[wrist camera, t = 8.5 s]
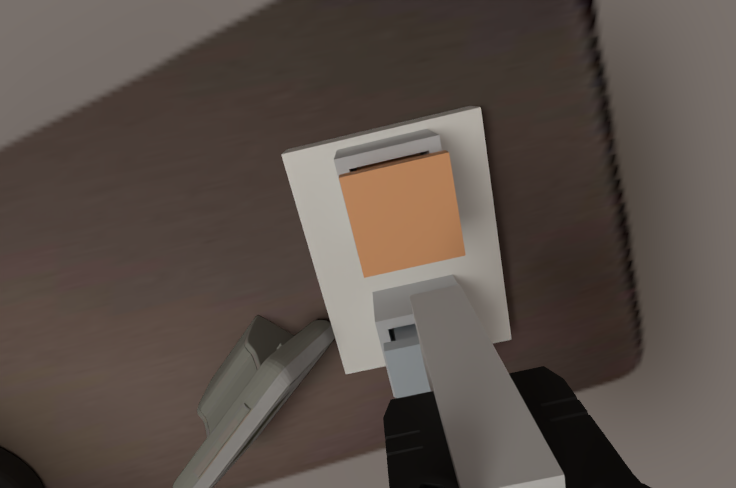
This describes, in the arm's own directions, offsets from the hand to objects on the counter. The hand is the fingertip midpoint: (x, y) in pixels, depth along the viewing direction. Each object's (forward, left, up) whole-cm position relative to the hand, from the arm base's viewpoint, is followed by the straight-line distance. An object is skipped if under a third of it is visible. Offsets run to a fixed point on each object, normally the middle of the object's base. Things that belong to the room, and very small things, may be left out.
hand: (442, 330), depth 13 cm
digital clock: (-15, -16, -25) cm, 33 cm away
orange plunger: (0, 0, -20) cm, 20 cm away
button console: (0, -6, -24) cm, 25 cm away
